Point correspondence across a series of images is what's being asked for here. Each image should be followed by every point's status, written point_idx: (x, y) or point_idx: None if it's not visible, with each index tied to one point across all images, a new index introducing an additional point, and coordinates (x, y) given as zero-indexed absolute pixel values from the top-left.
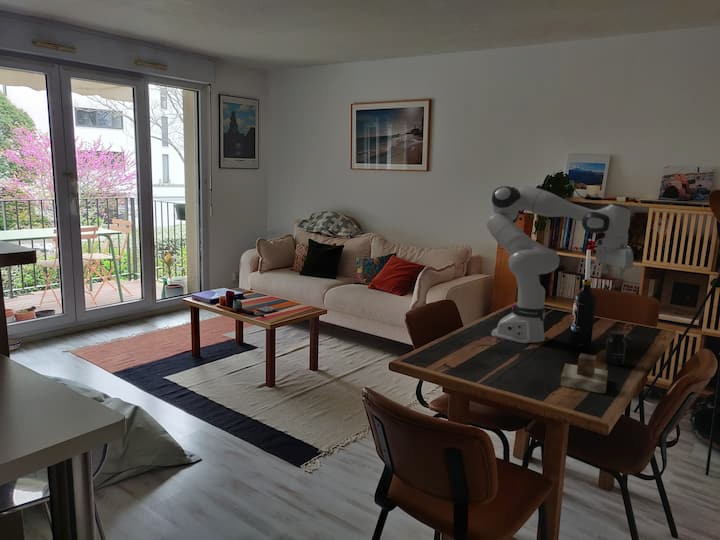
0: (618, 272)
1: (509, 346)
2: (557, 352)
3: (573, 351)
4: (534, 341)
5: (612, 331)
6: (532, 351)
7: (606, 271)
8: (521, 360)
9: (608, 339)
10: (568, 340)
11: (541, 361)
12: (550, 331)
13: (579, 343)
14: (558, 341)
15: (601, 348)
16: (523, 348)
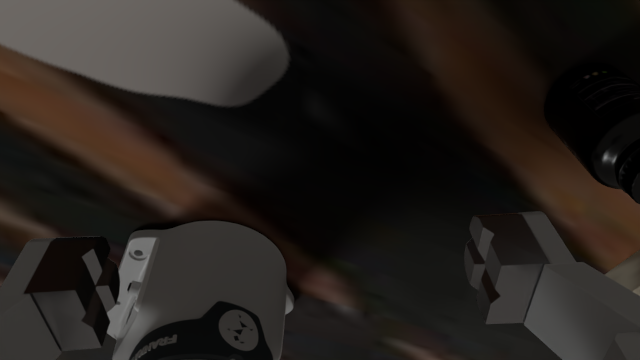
0: (548, 345)
1: (319, 343)
2: (406, 240)
3: (407, 182)
4: (285, 275)
5: (637, 193)
6: (379, 303)
7: (94, 289)
8: (452, 349)
9: (615, 188)
10: (251, 133)
11: (476, 311)
12: (94, 149)
13: (301, 105)
14: (266, 182)
15: (392, 36)
16: (345, 316)
